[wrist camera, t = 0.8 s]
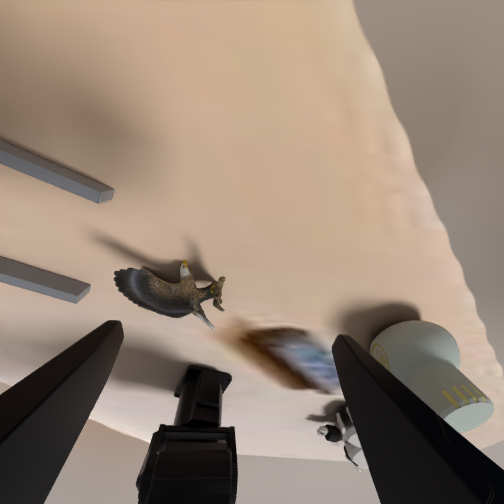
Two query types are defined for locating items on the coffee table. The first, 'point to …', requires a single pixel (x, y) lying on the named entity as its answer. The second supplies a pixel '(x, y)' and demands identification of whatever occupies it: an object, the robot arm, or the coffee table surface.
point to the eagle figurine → (168, 293)
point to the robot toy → (346, 438)
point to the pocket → (66, 180)
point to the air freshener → (432, 371)
